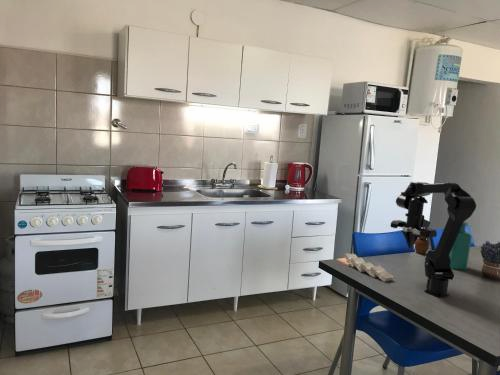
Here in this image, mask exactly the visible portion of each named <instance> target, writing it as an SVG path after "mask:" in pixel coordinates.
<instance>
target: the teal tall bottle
mask: <svg viewBox="0 0 500 375" xmlns="http://www.w3.org/2000/svg"><path fill="white" fill-rule="evenodd" d="M468 225H469V222H467V221H464V222H463V224H462V226H461V229H460V231H459V233H458V236H457V238H456V240H455V242H454V245H453V247H452V249H451V252H450V254H449V256H450V259H451V263H450V267H451V269H452V270H453V269H454V270H459V271H460V270H462V271H466V270H467V269H468V263H469V258H470V257H469V256H470V252H471V251H470V250H471V245H472V238H473V237H472V234H471V233H469V232H468V231H466V226H468Z"/></svg>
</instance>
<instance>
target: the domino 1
mask: <svg viewBox="0 0 500 375" xmlns="http://www.w3.org/2000/svg"><path fill="white" fill-rule="evenodd" d="M336 261H337V262H339V263H340V264H342V263H343V265H344V264H345V266H346V265H347V267H352V266H351V265H350V263H349V262H348V261H347V259H346V258H345V257H342V258H336Z"/></svg>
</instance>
